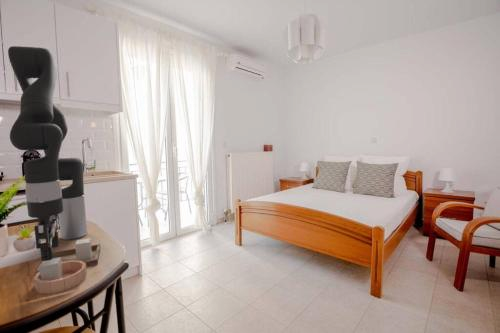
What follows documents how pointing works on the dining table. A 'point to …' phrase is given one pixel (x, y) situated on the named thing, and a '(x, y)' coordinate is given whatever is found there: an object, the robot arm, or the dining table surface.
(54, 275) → the light grey block
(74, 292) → the dining table surface
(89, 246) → the white rectangular block
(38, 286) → the bowl
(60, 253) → the tray
